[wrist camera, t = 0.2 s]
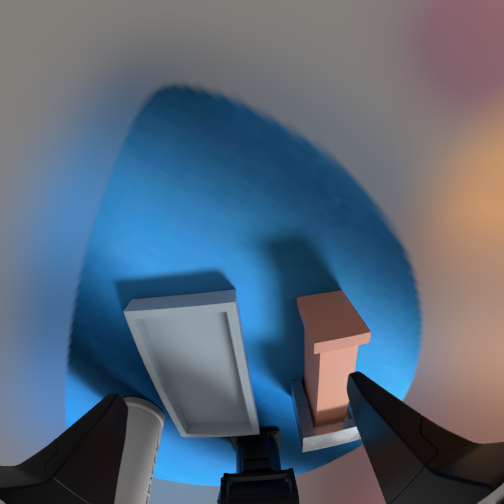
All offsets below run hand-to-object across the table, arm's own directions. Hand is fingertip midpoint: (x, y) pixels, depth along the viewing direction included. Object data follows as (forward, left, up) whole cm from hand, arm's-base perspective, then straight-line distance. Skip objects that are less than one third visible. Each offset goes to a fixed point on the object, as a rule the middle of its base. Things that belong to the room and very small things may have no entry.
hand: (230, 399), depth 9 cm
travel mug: (-19, +15, -14) cm, 28 cm away
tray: (-12, +5, -14) cm, 19 cm away
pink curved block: (-12, -7, -14) cm, 20 cm away
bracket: (-16, -7, -14) cm, 22 cm away
